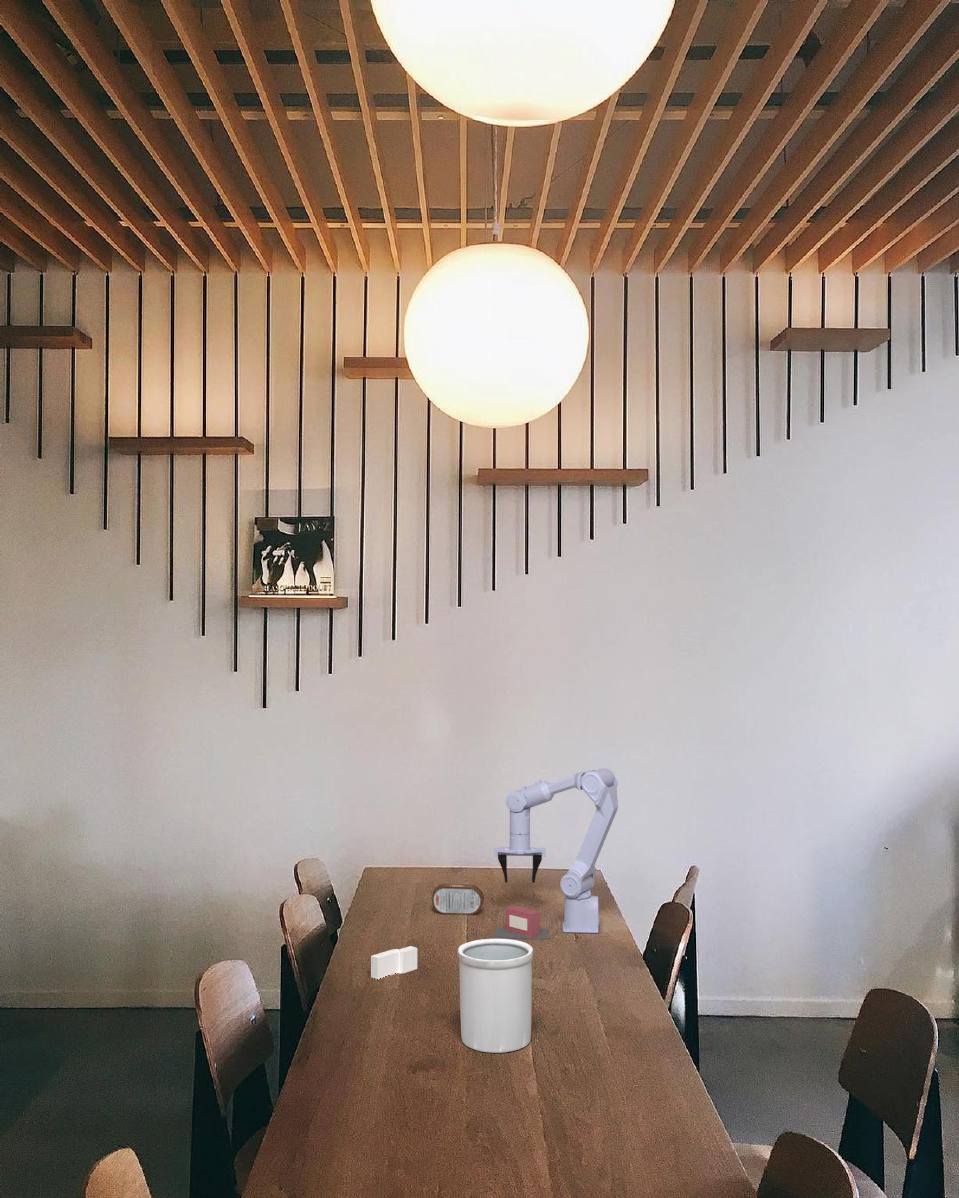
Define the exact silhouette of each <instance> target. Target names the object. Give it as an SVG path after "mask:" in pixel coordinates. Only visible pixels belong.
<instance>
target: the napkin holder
mask: <svg viewBox="0 0 959 1198" xmlns="http://www.w3.org/2000/svg"><path fill="white" fill-rule="evenodd" d="M417 969H418V948H417V947H415V946H412V945H409V946H406V947H402V948H400V949H398V948H395V949H394V948H393V949H390V950H386V951H383V952H379V953H377V954H373V955H371V956H370V978H372V979H374V978H375V980H377V979H378V980H380V978H381V979H383V977H384V978H386V977H385V976H387V977H389V976H388V975H390V976H394V975H396V974H405V973H408V972H412V971H415V970H417ZM395 973H396V974H395Z"/></svg>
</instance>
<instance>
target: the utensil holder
mask: <svg viewBox="0 0 959 1198" xmlns="http://www.w3.org/2000/svg"><path fill="white" fill-rule="evenodd" d="M457 957H458V959H459V1009H460V1010H459V1011H460V1012H459V1015H460V1034H461V1041H462V1043H463V1045H465V1046H466V1047H467V1048H470V1049H471V1050H475V1051H478V1052H483V1053H495V1054H501V1053H502V1054H503V1053H508V1052H515V1051H517V1050H520V1049H523V1048H525V1047H526V1046H528V1045H529V1044H530V1042H531V1038H532V1005H533V1003H532V992H533V991H532V989H533V988H532V985H533V983H532V980H533V979H532V978H533V975H532V974H533V973H532V971H533V970H532V968H533V967H532V965H533V963H532V962H533V957H534V950H533V947H532V946H531V945H530V943H529V944H528V943H527V942H524V941H520V940H518V939H512V938H485V939H482V938H481V939H476V940H472V941H469V942H465V943H462V944H461V945H459V947H458V948H457Z"/></svg>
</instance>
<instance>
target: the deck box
mask: <svg viewBox="0 0 959 1198" xmlns="http://www.w3.org/2000/svg"><path fill="white" fill-rule="evenodd" d="M505 928H506V931H508V932H512V933H516V934H520V935H524V936H527V937H531V938H532V937H535V936H538V935H540V929H541V911H538V910H533V909H530V908H525V907H521V906H517V905H511V906H508V907H505Z"/></svg>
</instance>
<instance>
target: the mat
mask: <svg viewBox="0 0 959 1198" xmlns="http://www.w3.org/2000/svg"><path fill="white" fill-rule="evenodd" d="M494 939H512V940H518V939H522V940H525V939H526V940H528V939H529V940H549V928H540V935H538V936H535V937H532V938H531V937H527V936H524V935H520V934H516V933H512V932H508V931H506V927H496V928H495V933H494Z"/></svg>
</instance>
